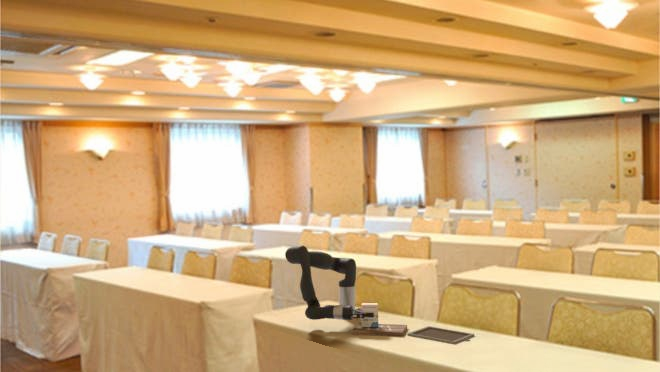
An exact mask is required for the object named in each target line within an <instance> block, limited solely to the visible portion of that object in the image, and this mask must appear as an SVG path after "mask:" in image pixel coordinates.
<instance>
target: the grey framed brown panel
mask: <svg viewBox="0 0 660 372" xmlns="http://www.w3.org/2000/svg"><path fill="white" fill-rule="evenodd" d="M406 336H408V337H414V338H419V339H423V338H424V340H429V339H430V340H429V341H434V340H435V342H440V341H441V342H440V343H445V342H446V344H450V343H451V344H452V345H455V344H456V345H457V344H458V343H462V342H470V341H471V340H470V339H471V338H473V337H475V334H474V333H469V332H465V331H459V330H452V329H447V328H442V327H435V326H425V327H423V328H422V327H421V328H419V329H416V330H413V331H410V332H407V334H406Z"/></svg>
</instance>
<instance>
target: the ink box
mask: <svg viewBox="0 0 660 372" xmlns="http://www.w3.org/2000/svg"><path fill="white" fill-rule="evenodd" d="M360 308H361V309H362V312H366V313H374V317H366V318H361V323H362V327H378V324H379V303H377V302H374V303H373V302H372V303H371V302H363V303H361V307H360Z"/></svg>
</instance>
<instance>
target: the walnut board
mask: <svg viewBox="0 0 660 372" xmlns="http://www.w3.org/2000/svg"><path fill="white" fill-rule="evenodd" d="M407 330H408V325H407V324H394V323H393V324H391V323H378V327H362V322H358V323H357V324H356V325H355V326H354V327H353V329H352V330H351V334H352V335H362V336H382V337H383V336H387V337H404V335H405V333H406V332H407Z"/></svg>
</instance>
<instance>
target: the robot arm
mask: <svg viewBox="0 0 660 372" xmlns="http://www.w3.org/2000/svg"><path fill="white" fill-rule="evenodd" d="M284 255H285V259H286V260H287V262H288V263H289V264H292V265H296V264H297V265H300V267H301V277H300V283H299V289H300V293H301V295H302V297H301V298H302V299H303V301H304V302H306V305H307V308H306V309H305V311H304V314H305V317H306V318H307V319H309V320H313V321H315V320H317V321H318V320H324V319H331V320H339V321H340V320H341V321H343V320H344V321H352V320H353V319H362V318H366V317H374V313H366V312H362V309H361V307H358V308H356V288H355V287H356V281H357V263H356V260H355V259H353V258H350V257H335V256H332V255H331V254H329V253H327V252H322V251H319V250H317V251H314V250H313V251H310V250H308V247H306V246H305V245H296V246H295V245H294V246H290V247H288V248H287V250H286V251H285V254H284ZM311 268H315V269H320V270H323V271H324V270H325V271H326V270H327V271H328V270H331V271H333V272H336V273H337V274H338V273H339V274H341V275H344V278H343V279H340V280H339V281H338V302H339V303H338V304H337V305H336V304H335V305H334V304H332V305H331V304H327V305H324V306H321V304H320V301H319V299H318V297H317V296H316V291H315V288H314V285H313V279H312V269H311Z"/></svg>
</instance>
